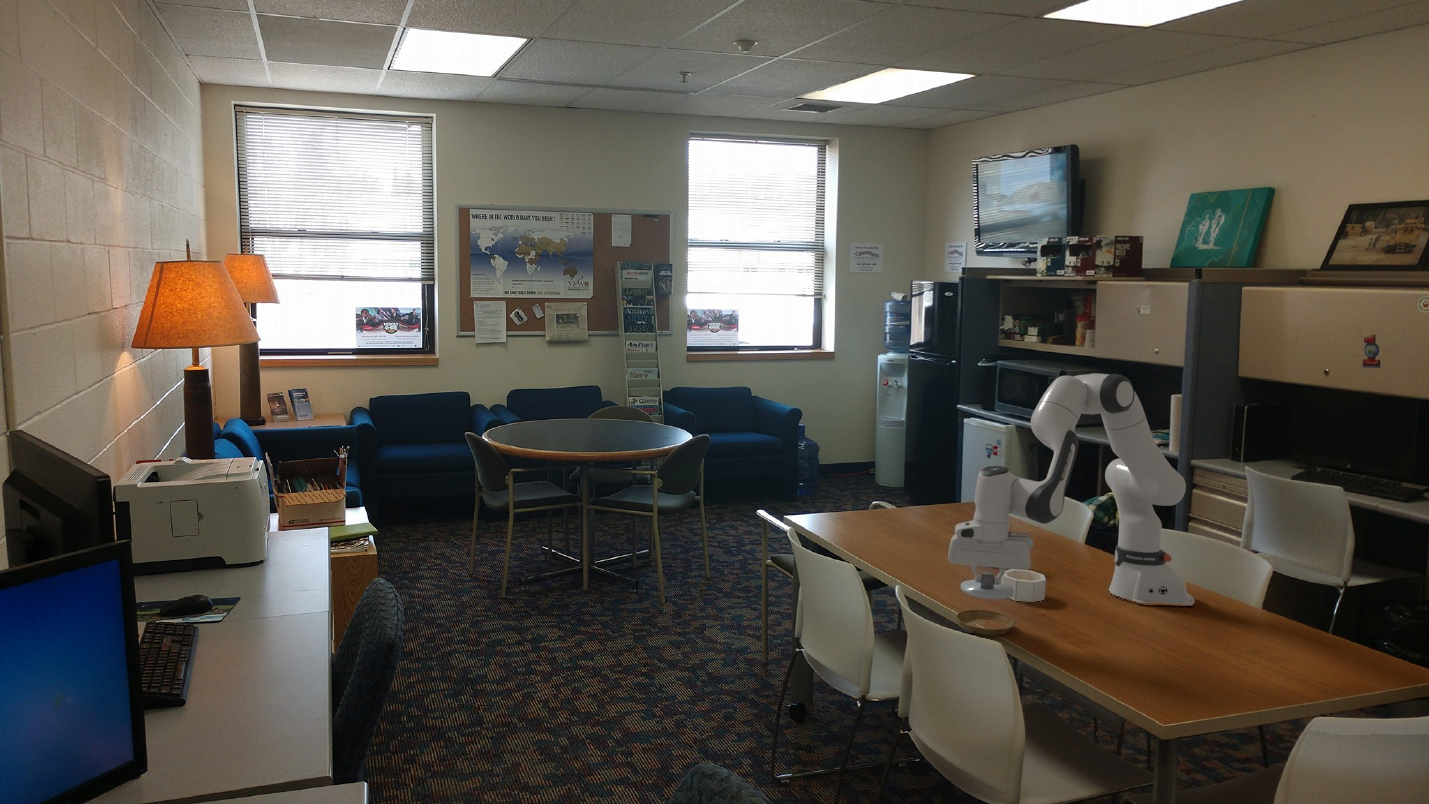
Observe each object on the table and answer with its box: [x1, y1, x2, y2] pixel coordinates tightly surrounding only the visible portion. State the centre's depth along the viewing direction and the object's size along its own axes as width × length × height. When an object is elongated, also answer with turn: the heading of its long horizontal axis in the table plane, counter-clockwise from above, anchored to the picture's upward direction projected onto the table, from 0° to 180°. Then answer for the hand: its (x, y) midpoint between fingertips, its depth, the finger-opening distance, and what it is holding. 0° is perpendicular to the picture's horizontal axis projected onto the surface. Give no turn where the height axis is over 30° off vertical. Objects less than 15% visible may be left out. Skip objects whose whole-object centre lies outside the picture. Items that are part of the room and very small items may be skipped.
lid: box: [960, 571, 1014, 600], centre depth 246 cm, size 13×13×4 cm
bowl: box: [1000, 569, 1047, 602], centre depth 273 cm, size 12×12×6 cm
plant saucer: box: [955, 609, 1016, 636], centre depth 247 cm, size 15×15×3 cm
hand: (987, 583), depth 246 cm, fingers closed on lid, 3 cm apart
